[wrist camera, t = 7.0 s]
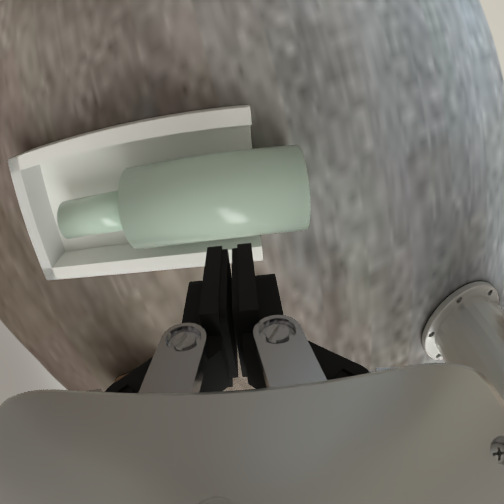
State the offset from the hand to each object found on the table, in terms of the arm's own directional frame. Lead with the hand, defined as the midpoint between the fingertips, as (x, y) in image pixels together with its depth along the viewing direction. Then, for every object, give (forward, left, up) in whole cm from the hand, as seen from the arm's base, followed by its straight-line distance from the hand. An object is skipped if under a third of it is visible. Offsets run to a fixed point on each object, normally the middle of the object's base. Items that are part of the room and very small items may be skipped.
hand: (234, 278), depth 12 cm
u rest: (+8, 0, -14) cm, 16 cm away
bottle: (-5, 0, -11) cm, 12 cm away
